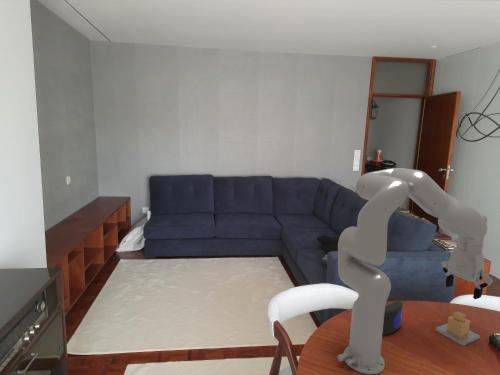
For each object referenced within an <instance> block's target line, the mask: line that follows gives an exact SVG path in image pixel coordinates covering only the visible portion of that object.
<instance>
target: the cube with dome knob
mask: <svg viewBox="0 0 500 375" xmlns="http://www.w3.org/2000/svg"><path fill="white" fill-rule="evenodd" d="M446 324H447V330H449V331H450V332H452V333H454V334H456V335H458V336H459V337H461V336H464V335H466V334H469V330H470V325H471V320H469V319H467V315H466V314H465V313H463V312H460V311H453V315H451V316H450V315H449V316H448V318H447V322H446Z"/></svg>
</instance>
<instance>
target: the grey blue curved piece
mask: <svg viewBox="0 0 500 375" xmlns="http://www.w3.org/2000/svg"><path fill="white" fill-rule="evenodd" d="M403 306H404V303H403V302H402V301H401V300H396V301H393V302H391V303H389V304H386V306H385V313H384V323H383V333H382V336H383V335H391V334H393V333H395V332H396V331H398V330H399V329H400V327H401V324H402V317H403Z"/></svg>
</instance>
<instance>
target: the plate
mask: <svg viewBox="0 0 500 375" xmlns="http://www.w3.org/2000/svg"><path fill="white" fill-rule="evenodd" d="M435 332H438V333H440V334H441V335H442V336H444V337H447V338H448V339H450V340H452V341H453V342H455V343H457V344H458V345H461V346H463V347H464V346H466V345H469V344H471V343H473V342H475V341H477V340H480V337H481V335H479V334H477V333H475V332H473V331H472V330H470V329H469V334H466V335H464V336H461V337H459V336H458V335H456V334H454V333H452V332H450V331H449V330H447V323H444V324H441V325H438V326H437V327H435Z"/></svg>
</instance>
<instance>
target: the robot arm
mask: <svg viewBox="0 0 500 375" xmlns="http://www.w3.org/2000/svg"><path fill="white" fill-rule="evenodd" d="M355 190H356V193H357V194H358V196H359V197H360V198H362V199H364V200H366V201H367V202H366V203H365V204H364V205H363V207H362V208H360V211H359V213H358V215H357V220H356V222H357V224H356V226H349V227H347V228H345V229H344V230H343V231H342V232H341V234H340V235H339V238H338V242H337V272H338V277H339V278H340V281H341V282H343V284H345V285H346V286H348V287H349V288H351V289H352V290H353V291H355V292H356V293H357V294H358V297H357V298H356V299H355V300H354V302H353V304H352V306H351V307H352V308H351V318H350V319H351V320H350V331H349V332H350V333H349V343H348V346H346V348H345V349H344V350H343V353H340V354H338V355H337V357H336V358H337V360H338V362H340V363H342V362H343V361H344V362H345V364H346V365H347V366H349V368H351V370H352V369H353V370H354V371H356V372H358V373H361V374H365V375H377V374H380V373H382V372H383V371H384V369H385V366H386V365H385V364H386V362H385V359H384V358H383V356H382V355H381V353H382V352H381V350H382V344H383V343H382V342H383V335H382V333H383V323H384V313H385V306H386V305H387V301H388V299H389V296H390V293H391V288H392V284H391V280H390V278H389V277H388V275H387V274H386V273H385V272H383V271H382V270H380V269H379V268H377V267H379V266H381V265H382V264H383V263H384V262H385V260H386V258H387V257H386V256H387V247H388V224H389V220H390V218H391V217H392V214H393V213H394V212H395V211H396V210H397V209H398V208H399V207H400V206H401V205H402V204H404V202H405V201H406V200H407V198H409V199H411V201H413V202H414V203H415V204H416V205H417V206H418V207H420V208H421V209H422V210H423V211H424V212H425V213H426V214H428V215H431V216H432V217H434V218H437V224H438V226H439V228H440V230H442V231H444V232H446V233H449V234H453V235H456V236H457V239H454V240H453V243H454V244H456V245H455V246H454V247H453V249H452V252H451V254H450V257H449V260H443V261H441V267H442V271H443V272H444V275H445V277H446V279H445V287H446V288H451V287H453V285H454V279H455V277H458V278H460V279H463V280H465V281H468V282H471V283H474V285H475V288H474V289H473V296H472V298H473V299H474V300H478V299H480V298H482V296H483V290H484V288H487V287H489V286H490V285H491V284H492V283H493V282H494V279H493V278H492V277H490V275H489V274H487V273H486V272H485V256H484V255H485V254H484V253H483V247H484V240H485V237H486V235H487V232H488V224H487V222H488V217H487V215H486V214H484V213H480V212H478V211H477V210H476V209H474V208H473V207H471V206H470V205H468V204H466V203H465V202H463V201H461V200H459V199H457V198H455V197H454V196H452V195H450V194H448V193H447V192H446V191H444V190H443V189H442V188H441V187H440V186H439V184H438V183H437V182H435V180H434V179H432V177H431V176H429V175H428V174H427V173H426V172H425V171H422V170H419V169H412V168H404V167H391V168H387V169H386V168H385V169H382V170H376V171H370V172H366V173H364V174H363V175H361V176H360V177H358V179H357V181H356V184H355ZM454 276H455V277H454ZM483 279H484V280H485V281H484V282H483Z"/></svg>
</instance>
